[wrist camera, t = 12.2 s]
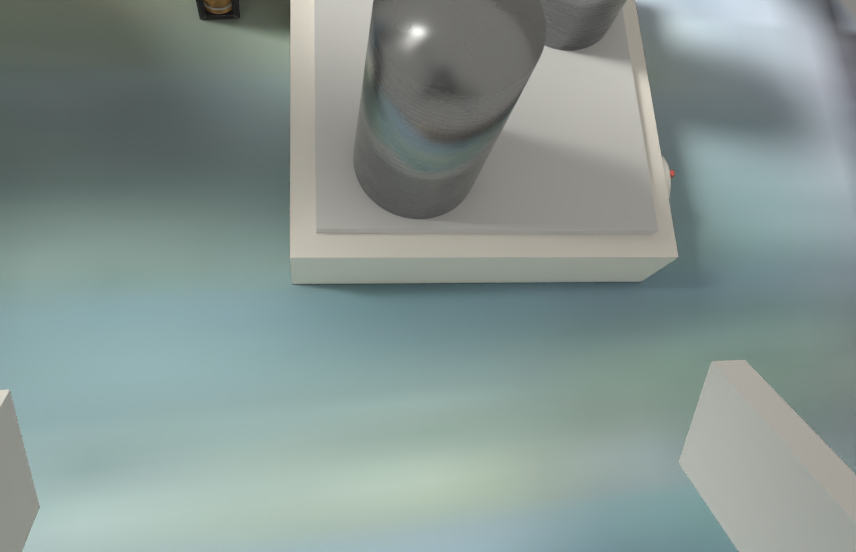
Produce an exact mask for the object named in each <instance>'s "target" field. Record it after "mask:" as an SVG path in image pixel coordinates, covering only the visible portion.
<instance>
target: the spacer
mask: <svg viewBox="0 0 856 552" xmlns="http://www.w3.org/2000/svg"><path fill="white" fill-rule="evenodd" d="M545 41H546V21H545V15H544V11H543V9H542V6H541V3H540V1H539V0H373V6H372V14H371V21H370V29H369V37H368V45H367V52H366V60H365V68H364V75H363V83H362V91H361V99H360V106H359V114H358V122H357V129H356V137H355V145H354V153H353V163H354V170H355V174H356V177H357V179H358V182H359V184H360V186H361V187H362V189H363V190H364V192H365V193H366V194H367V196H368V197H369V198H370V199H371V200H372V201H373V202H374V203H376V204H377V205H378V206H379V207H381V208H383V209H384V210H386V211H388V212H390V213H392V214H394V215H397V216H400V217H404V218H410V219H429V218H434V217H438V216H441V215H443V214H445V213H448V212H450V211H451V210H453V209H454V208H456V207H457V206H458V205H459V204H460V203H462V201H463V200H464V199H465V198H466V197H467V195H468V193H469V192H470V190H471V188H472V186H473V185H474V183H475V181H476V179H477V177H478V175H479V173H480V171H481V169H482V167H483V165H484V164H485V162H486V160H487V158H488V156H489V154H490V152H491V150H492V148H493V146H494V145H495V143H496V141H497V139H498V137H499V135H500V133H501V131H502V129H503V127H504V125H505V124H506V122H507V120H508V118H509V116H510V114H511V112H512V110H513V108H514V106H515V105H516V103H517V101H518V99H519V97H520V95H521V93H522V91H523V89H524V87H525V85H526V84H527V82H528V80H529V78H530V76H531V74H532V72H533V70H534V68H535V66H536V65H537V63H538V61H539V59H540V56H541V54H542V52H543V49H544V45H545Z"/></svg>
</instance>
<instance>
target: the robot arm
mask: <svg viewBox="0 0 856 552" xmlns="http://www.w3.org/2000/svg"><path fill="white" fill-rule="evenodd" d="M678 463H679V464H680V466H681V467H682V469H683V470H684V472H685V473H686V475H687V476H688V478H689V479H690V481H691V482H692V483H693V485H694V486H695V488H696V489H697V491H698V492H699V494H700V495H701V497H702V498H703V500H704V501H705V503H706V504H707V506H708V507H709V509H710V510H711V512H712V513H713V515H714V516H715V518H716V519H717V520H718V522H719V523H720V525H721V526H722V528H723V529H724V531H725V532H726V534H727V535H728V537H729V538H730V540H731V541H732V543H733V544H734V546H735V547H736V549H737V550H738V552H856V474H855V473H854V472H853V471H852V470H851V469H850V468H849V467H848V466H847V465H846V464H845V463H844V462H843V461H842V460H841V459H840V458H839V457H838V456H837V455H836V454H835V453H834V452H833V451H832V449H831V448H830V447H829V446H828V445H827V444H826V443H825V442H824V441H823V440H822V439H821V438H820V437H819V436H818V435H817V434H816V433H815V432H814V431H813V430H812V429H811V428H810V427H809V426H808V425H807V424H806V422H805V421H804V420H803V419H802V418H801V417H800V416H799V415H798V414H797V413H796V412H795V411H794V410H793V409H792V408H791V407H790V406H789V405H788V404H787V403H786V402H785V401H784V400H783V399H782V398H781V397H780V396H779V394H778V393H777V392H776V391H775V390H774V389H773V388H772V387H771V386H770V385H769V384H768V383H767V382H766V381H765V380H764V379H763V378H762V377H761V376H760V375H759V374H758V373H757V372H756V371H755V370H754V369H753V367H752V366H751V365H750V364H749V363H748V362H747V361H746V360H725V361H711V364H710V367H709V370H708V373H707V376H706V379H705V382H704V385H703V388H702V391H701V394H700V398H699V401H698V404H697V407H696V410H695V413H694V416H693V419H692V422H691V425H690V428H689V431H688V434H687V437H686V441H685V444H684V447H683V450H682V453H681V456H680V459H679V462H678ZM39 508H40V507H39V503H38V499H37V495H36V491H35V487H34V483H33V479H32V475H31V471H30V467H29V463H28V459H27V455H26V451H25V448H24V444H23V440H22V436H21V432H20V428H19V424H18V420H17V416H16V412H15V408H14V404H13V400H12V396H11V392H10V390H0V552H22V550H23V547H24V545H25V542H26V540H27V537H28V535H29V532H30V530H31V527H32V525H33V522H34V520H35V517H36V515H37V513H38V510H39Z"/></svg>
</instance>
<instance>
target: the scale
mask: <svg viewBox="0 0 856 552" xmlns="http://www.w3.org/2000/svg"><path fill="white" fill-rule="evenodd" d="M372 6H373V0H290V265H291V278H292V284H371V283H509V282H641V281H643V280H644V279H646V278H648V277H649V276H651V275H652V274H654V273H655V272H657V271H658V270H660V269H661V268H663V267H664V266H666V265H667V264H669V263H671V262H672V261H674V260H675V259H677V258H678V251H677V245H676V239H675V233H674V228H673V222H672V216H671V210H670V204H669V197H670V191H671V178H672V177H673V176H674V175H675V174H674V170H669V166H668V163H667V161H666V160H665V158H664V157H663V156H662V155H661V151H660V145H659V139H658V133H657V127H656V121H655V115H654V109H653V103H652V97H651V92H650V86H649V80H648V74H647V68H646V62H645V56H644V50H643V44H642V38H641V32H640V27H639V21H638V15H637V9H636V3H635V0H627V1H626V3H625V4H624V6H623V8H622V9H621V11H620V12H619V14H618V15H617V17H616V19H615V20H614V22H613V23H612V25H611V26H610V28H609V29H608V31H607V33H606V34H605V35H604V36H603V38H602V39H601V40H599V41H598V42H597V43H595V44H594V45H592V46H590V47H587V48H584V49H580V50H573V51H565V50H558V49H553V48H550V47H547V46H544V49H543V52H542V54H541V56H540V59H539V61H538V63H537V65H536V66H535V68H534V70H533V72H532V74H531V76H530V78H529V80H528V82H527V84H526V85H525V87H524V89H523V91H522V93H521V95H520V97H519V99H518V101H517V103H516V105H515V106H514V108H513V110H512V112H511V114H510V116H509V118H508V120H507V122H506V124H505V125H504V127H503V129H502V131H501V133H500V135H499V137H498V139H497V141H496V143H495V145H494V146H493V148H492V150H491V152H490V154H489V156H488V158H487V160H486V162H485V164H484V165H483V167H482V169H481V171H480V173H479V175H478V177H477V179H476V181H475V183H474V185H473V186H472V188H471V190H470V192H469V193H468V195H467V197H466V198H465V199H464V200H463V201H462V203H460V204H459V205H458V206H457V207H456V208H454V209H453V210H451V211H450V212H448V213H445V214H443V215H441V216H438V217H434V218H429V219H410V218H404V217H400V216H397V215H394V214H392V213H390V212H388V211H386V210H384V209H383V208H381V207H379V206H378V205H377V204H376V203H374V202H373V201H372V200H371V199H370V198H369V197H368V196H367V194H366V193H365V192H364V190H363V189H362V187H361V186H360V184H359V182H358V179H357V177H356V174H355V170H354V163H353V153H354V145H355V137H356V129H357V122H358V114H359V106H360V99H361V91H362V83H363V75H364V68H365V60H366V52H367V45H368V37H369V29H370V21H371V14H372Z"/></svg>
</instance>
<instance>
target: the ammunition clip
mask: <svg viewBox="0 0 856 552" xmlns="http://www.w3.org/2000/svg"><path fill="white" fill-rule="evenodd" d="M196 3H197V7H198V12H199V16H200V19H232V18H240V9H239V0H196Z"/></svg>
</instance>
